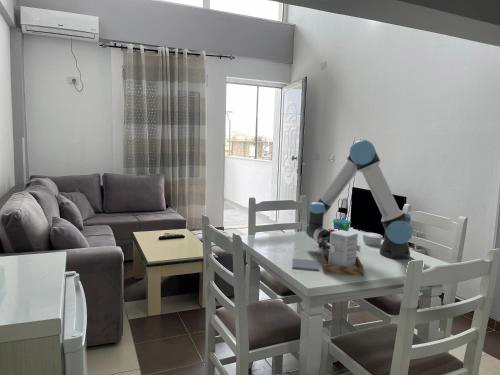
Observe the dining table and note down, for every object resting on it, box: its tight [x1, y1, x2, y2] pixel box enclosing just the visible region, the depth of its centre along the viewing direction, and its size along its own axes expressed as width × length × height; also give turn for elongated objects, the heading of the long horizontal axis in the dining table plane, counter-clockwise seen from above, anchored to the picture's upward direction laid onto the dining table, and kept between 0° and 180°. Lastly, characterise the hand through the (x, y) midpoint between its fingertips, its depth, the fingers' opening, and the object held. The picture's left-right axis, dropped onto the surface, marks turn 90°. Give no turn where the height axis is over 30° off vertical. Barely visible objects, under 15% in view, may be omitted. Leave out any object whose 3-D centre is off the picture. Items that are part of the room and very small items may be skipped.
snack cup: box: [332, 218, 352, 232], centre depth 232 cm, size 16×10×10 cm
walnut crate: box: [321, 253, 365, 277], centre depth 174 cm, size 17×17×4 cm
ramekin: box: [362, 232, 384, 246], centre depth 221 cm, size 11×11×5 cm
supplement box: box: [327, 230, 359, 267], centre depth 174 cm, size 10×9×17 cm
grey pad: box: [291, 258, 320, 272], centre depth 176 cm, size 12×12×1 cm
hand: (347, 249), depth 170 cm, fingers open, 12 cm apart
